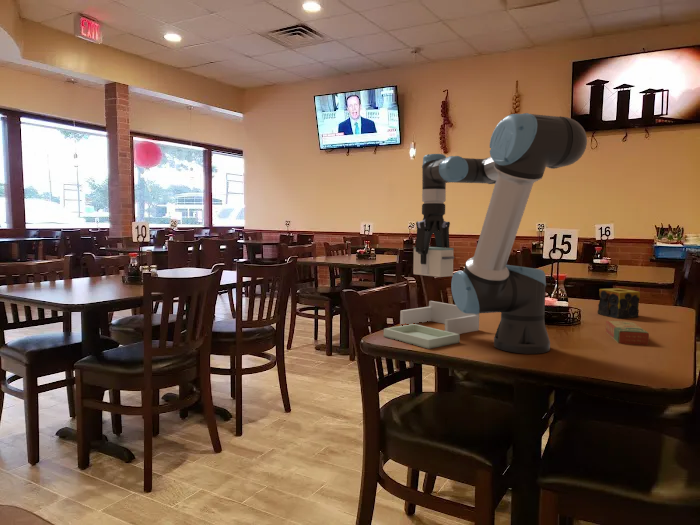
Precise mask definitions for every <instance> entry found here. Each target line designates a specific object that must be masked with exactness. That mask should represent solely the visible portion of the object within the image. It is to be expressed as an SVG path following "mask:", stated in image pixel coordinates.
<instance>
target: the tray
mask: <svg viewBox="0 0 700 525" xmlns="http://www.w3.org/2000/svg"><path fill="white" fill-rule="evenodd" d="M460 335H461V334H457V333H452V332H448V331H445V329H444V330H443V329H438V328H435V327H431V326H425V325H422V324H418V323H415V324H409V325H403V326H402V325H398V326H392V327H386V328H383V338H388V339H391V340H394V339H395V341H398V340H399V342H401V341H402V343H406V344H409V345H412V344H413V345H412V346H417V347H420V348H424V349H426V350H430V349H434V348H440V347H444V346H449V345H455V344H458V343H460V340H461V339H460Z"/></svg>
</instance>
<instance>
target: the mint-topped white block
mask: <svg viewBox="0 0 700 525" xmlns="http://www.w3.org/2000/svg"><path fill="white" fill-rule="evenodd" d="M419 249H420V248H419ZM454 249H455V248H454V247H449V248H446V247H445V248H442V247H437V246H429V249H428V253H427V254H429V275H425V274H421V267H422V264H421V254H418V252H416V246H413V266H412V267H413V268H412V269H413V270H412V271H413V275H419V276H425V277H426V276H428V277H437V278H443V277H445V278H446V277H453V275H454V259H455V256H454Z"/></svg>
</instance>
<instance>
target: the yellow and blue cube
mask: <svg viewBox="0 0 700 525" xmlns="http://www.w3.org/2000/svg"><path fill="white" fill-rule="evenodd" d="M598 291H599V302H598V304H597V307H598V310H597V314H598V315H601V316H605V317H609V318H614V319H619V320H620V319H634V318H639V312H640V310H639V305H640V304H639V303H640V300H641V299H640V296H641V292H640V291H636V290H633V289H632V290H631V289H626V288H625V289H624V288H621V287H620V288H619V287H617V288H599V290H598Z"/></svg>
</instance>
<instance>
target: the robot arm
mask: <svg viewBox="0 0 700 525" xmlns="http://www.w3.org/2000/svg"><path fill="white" fill-rule="evenodd" d="M587 144H588V138H587V134H586V130H585V129H584V127H583V126H582V125H581V124H580V122H578V120H577V121H576V120H575V119H573V118H571V117H567V116H561V115H560V116H557V115H556V116H554V115H545V114H544V115H543V114H536V113H528V112H526V113H512V114H509V115H506V116H505V117H504V118H502V119H501V120H500V121H499V122H498V123H497V124H496V126H495V128H494V130H493V131H492V134H491V137H490V140H489V148H490V150H489V157H488V156H487V157H486V158H473V157H471V158H470V157H469V158H468V157H462V156H459V155H455V156H453V155H451V156H446V155H445V154H443V153H430V154H425V155H424V156H423V157H422V165H421V166H422V167H421V168H422V169H421V170H422V172H421V173H422V174H421V175H422V184H421V185H422V189H421V190H422V191H421V192H422V193H421V196H422V197H421V201H422V202H423V203H422V204H421V215H423V218H422V220H419V221H416V222H415V225H416V237H415V238H416V240H415V241H416V242H415V247H416V252H418V254H421V264H422V267H421V274H425V275H424V276H426V275H429V254H427V253H428V249H429V247H430V244H431V240H432V235H434V240H435V245H436V247H442V248H450V225H451V223H450V221H446V220H445V219H444V215H446V204H445V202H446V196H447V195H446V194H447V193H446V192H447V191H446V189H447V188H446V186H447V184H446V183H455V184H456V183H457V184H458V183H460V184H461V183H462V184H488V185H494V187H493V190H492V193H491V197H490V199H489V200H490V201H489V204H488V207H487V210H486V213H485V217H484V221H483V223H482V224H483V225H482V228H481V231H480V233H479V234H480V235H479V237H478V241H477V244H476V248H475V251H474V254H473V256H472V257H470V258H468V259H467V260H466V261H465V265H464V268H463V270H458V271H456V272H453V276H451V277H452V278H451V285H450V286H451V295H452V300H453V301H454V305H456V306H457V307H458V309H459V310H460V311H462V312H463V313H467V314H478V313H479V314H489V313H490V314H492V313H493V314H494V313H500V321H499V324H498V327H497V329H496V332H495V333H494V334H495V335H494V337H493V347H494V348H496V349H498V350H501V351H503V352H509V353H515V354H523V355H524V354H527V355H529V354H530V355H536V354H544V353H547V352H549V351H551V341H550V337H549V333H548V331H547V326H546V324H545V323H546V322H545V311H546V310H545V309H546V303H545V302H546V287H547V281H546V280H547V279H546V277H547V276H546V273H545V271H544V270H542V269H539V268H535V267H534V268H533V267H527V266H519V265H512V264H511V265H510V264H508V260H509V257H510V255H511V253H512V252H511V251H512V249H513V246H514V243H515V240H516V237H517V234H518V231H519V229H520V225H521V222H522V218H523V217H524V216H523V215H524V213H525V210H526V206H527V203H528V201H529V199H530V198H529V197H530V195H531V192H532V188H533V186H534V183H536V182H538V181H540V180H542V179H543V177H544V174H545V170H546V168H548V169H551V170H554V169H560V168H563V167H568V166H571V165H573V164H575V163H577V162H578V161H579V160H580V159H581V158H582V157H583V155H584V153H585V151H586V149H587V146H588V145H587ZM419 248H420V249H419Z"/></svg>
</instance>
